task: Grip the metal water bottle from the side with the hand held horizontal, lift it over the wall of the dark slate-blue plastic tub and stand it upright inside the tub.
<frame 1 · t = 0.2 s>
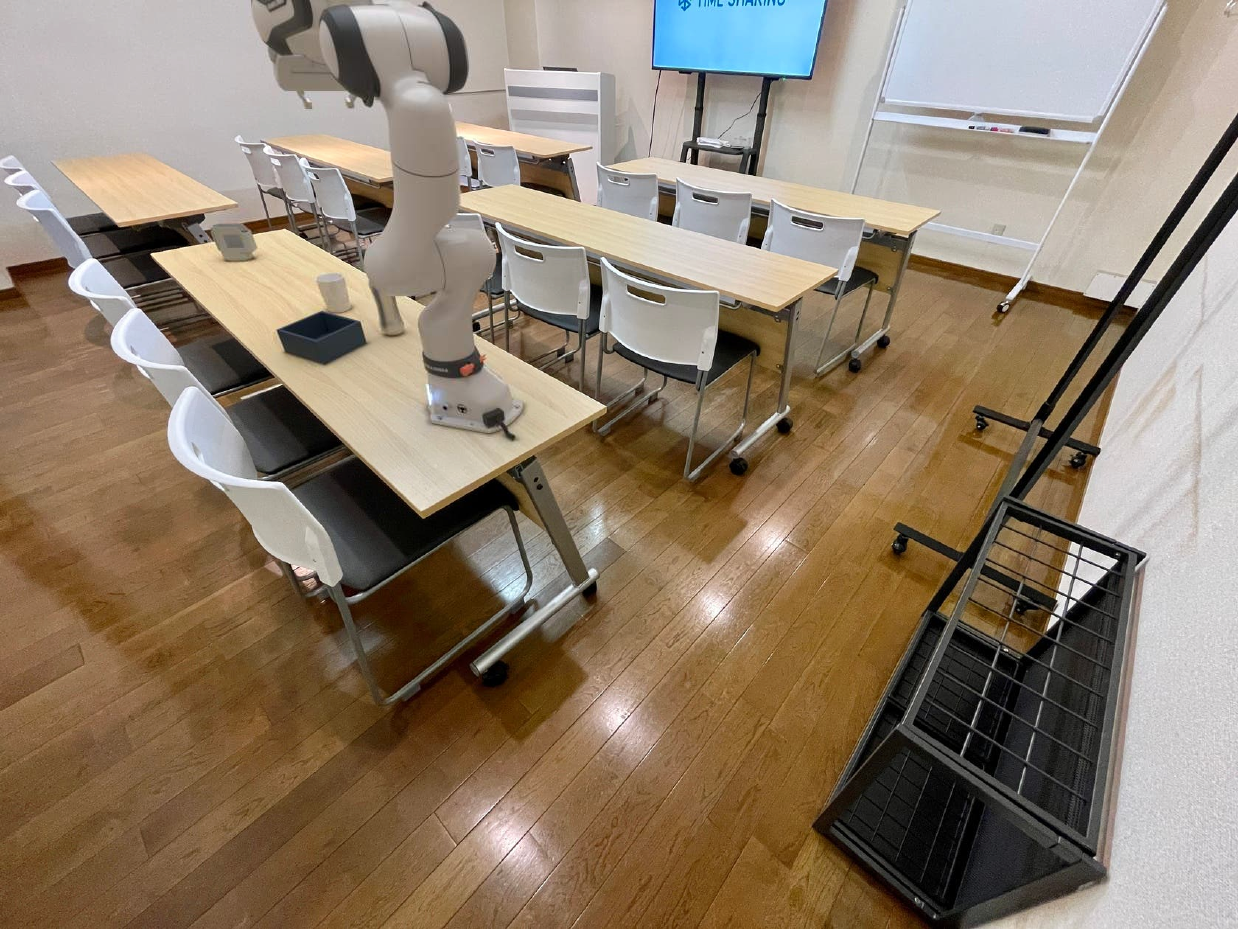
hand: (329, 107, 124), 54 cm above the table, tool tilted 30°, fingers open, 8 cm apart
cable organizer: (243, 259, 195), on the table
white cup: (339, 309, 164), on the table
metal water bottle: (394, 333, 152), on the table
tub: (326, 347, 144), on the table
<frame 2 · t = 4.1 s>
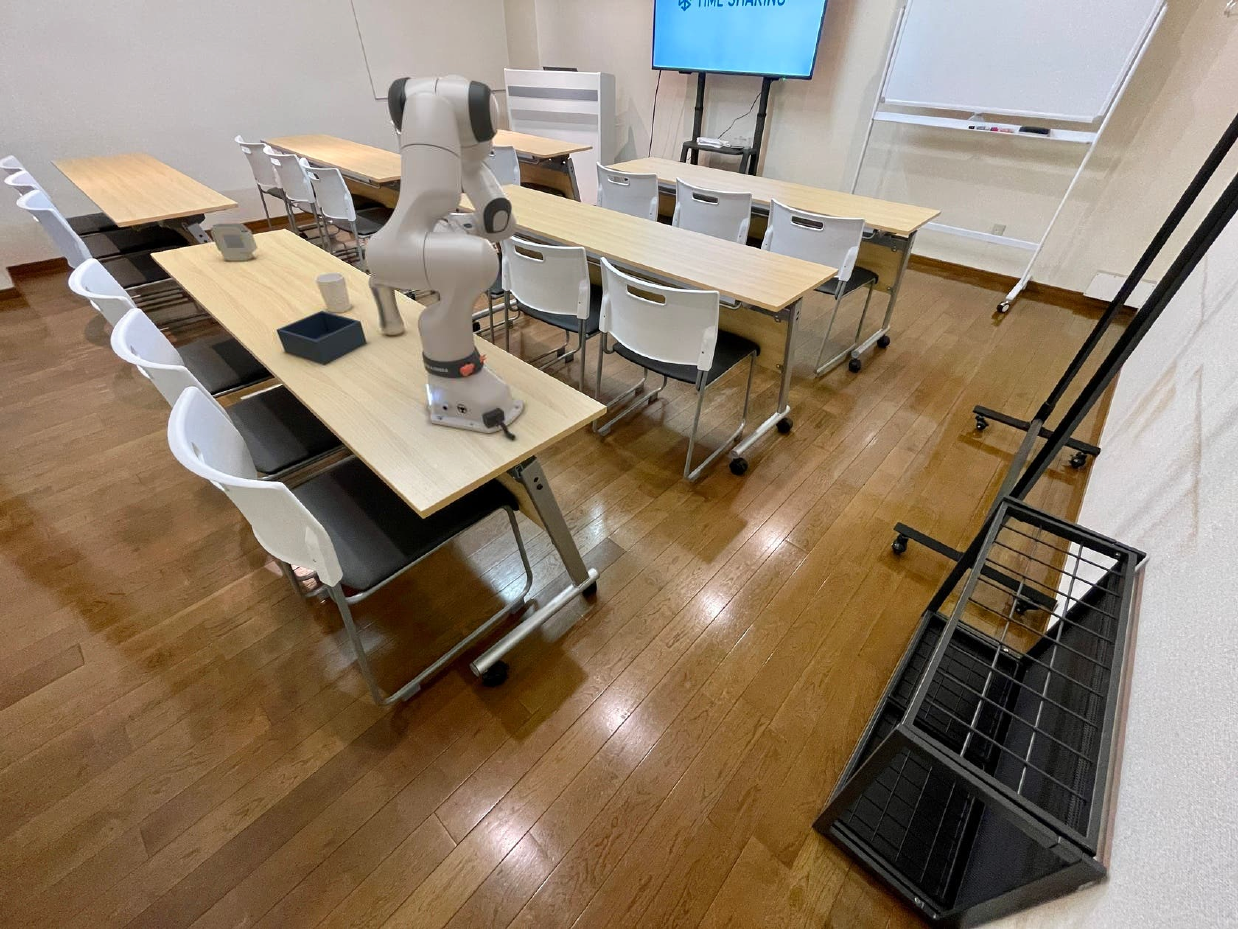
hand: (415, 240, 143), 24 cm above the table, tool horizontal, fingers open, 8 cm apart
nothing on the table moved.
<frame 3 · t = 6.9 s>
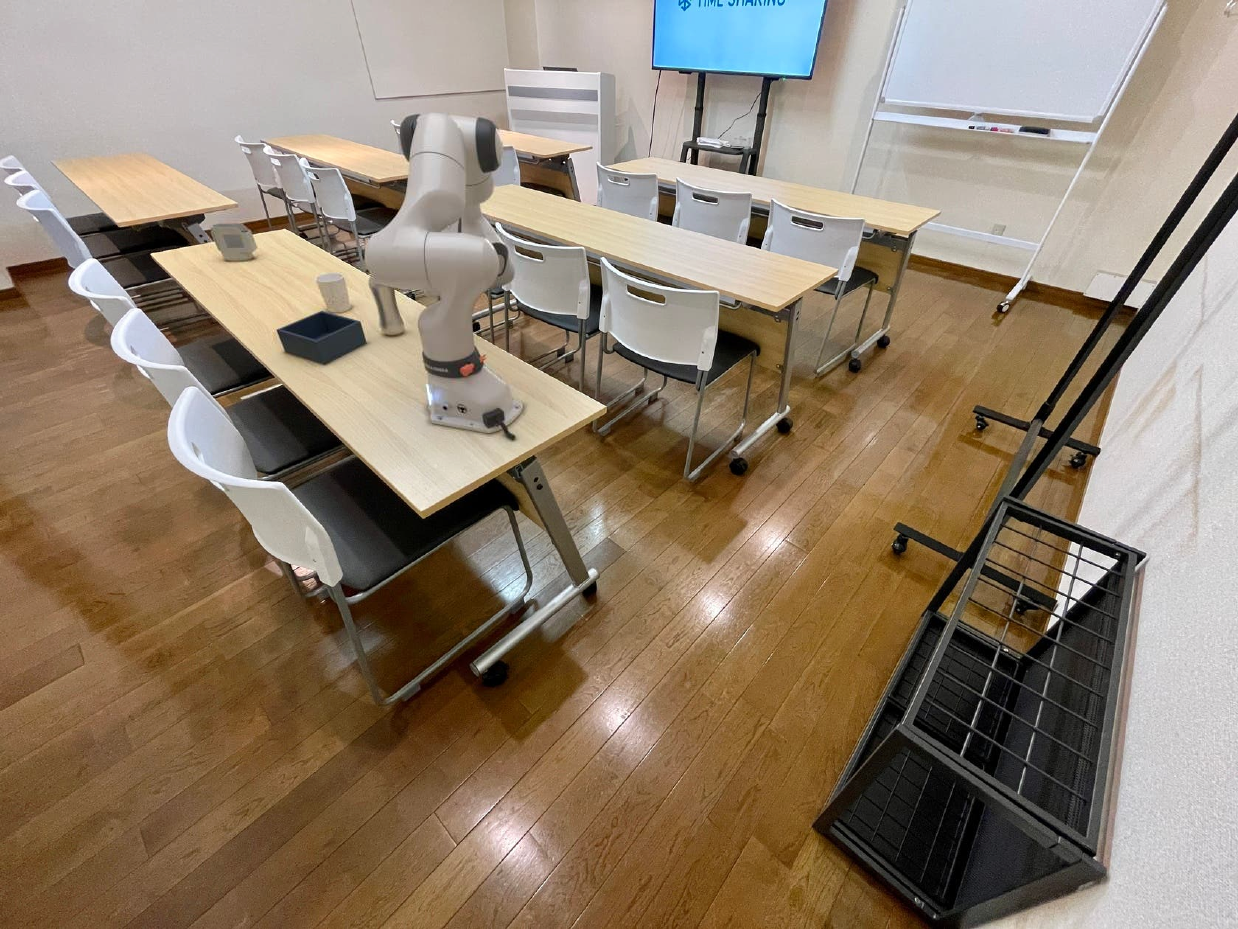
hand: (417, 287, 150), 12 cm above the table, tool horizontal, fingers open, 8 cm apart
nothing on the table moved.
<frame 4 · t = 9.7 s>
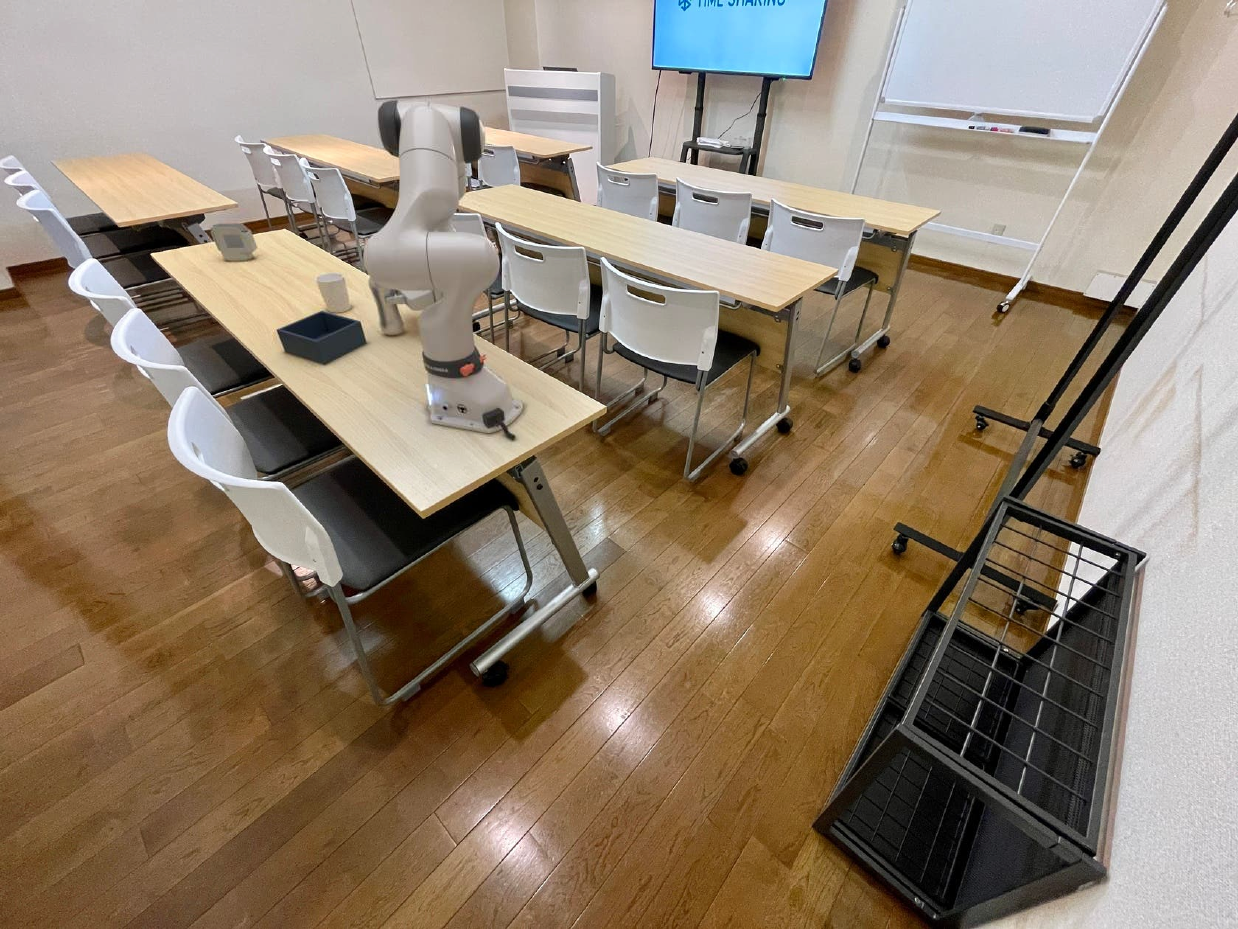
hand: (381, 296, 145), 11 cm above the table, tool horizontal, fingers closed on metal water bottle, 6 cm apart
metal water bottle: (394, 333, 152), on the table, touching gripper
everything else where it was.
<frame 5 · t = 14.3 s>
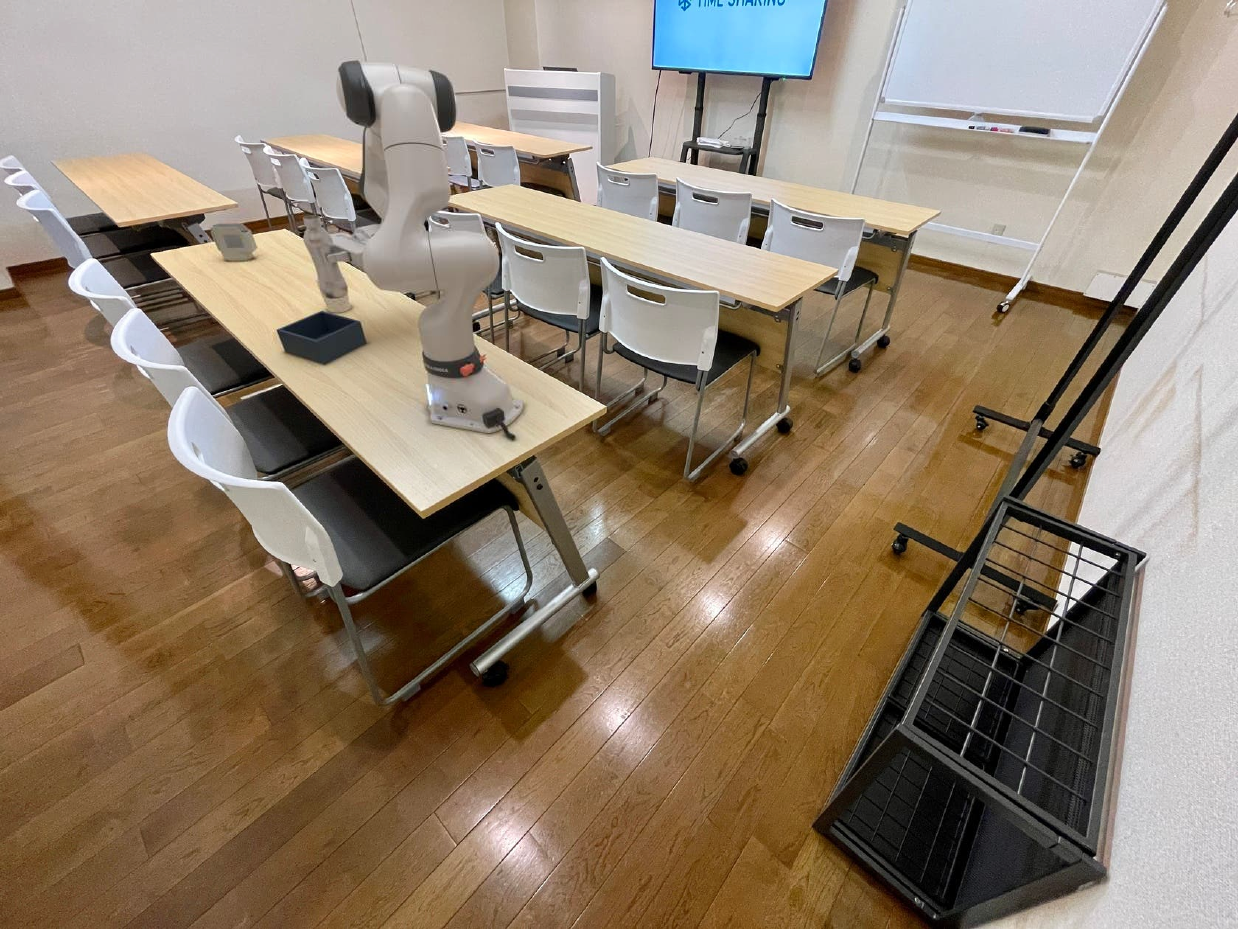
hand: (319, 255, 131), 24 cm above the table, tool horizontal, fingers closed on metal water bottle, 6 cm apart
metal water bottle: (336, 297, 139), point 13 cm above the table, touching gripper
everything else where it was.
when the fingers open (12 cm above the table, at t = 19.4 s): metal water bottle stays where it is, resting on tub.
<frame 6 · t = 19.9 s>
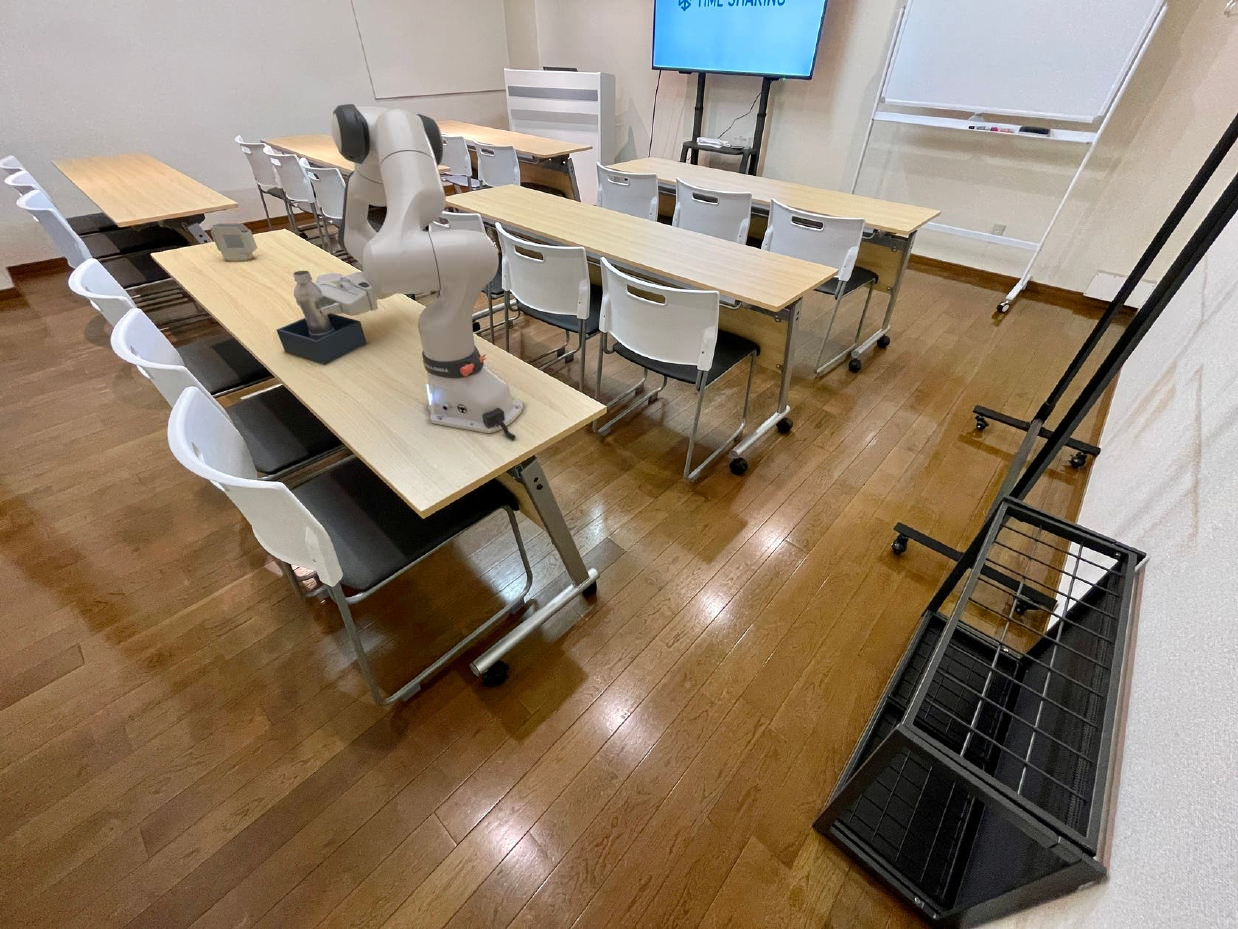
hand: (309, 307, 135), 12 cm above the table, tool horizontal, fingers open, 8 cm apart
metal water bottle: (326, 346, 143), resting on tub
everything else where it was.
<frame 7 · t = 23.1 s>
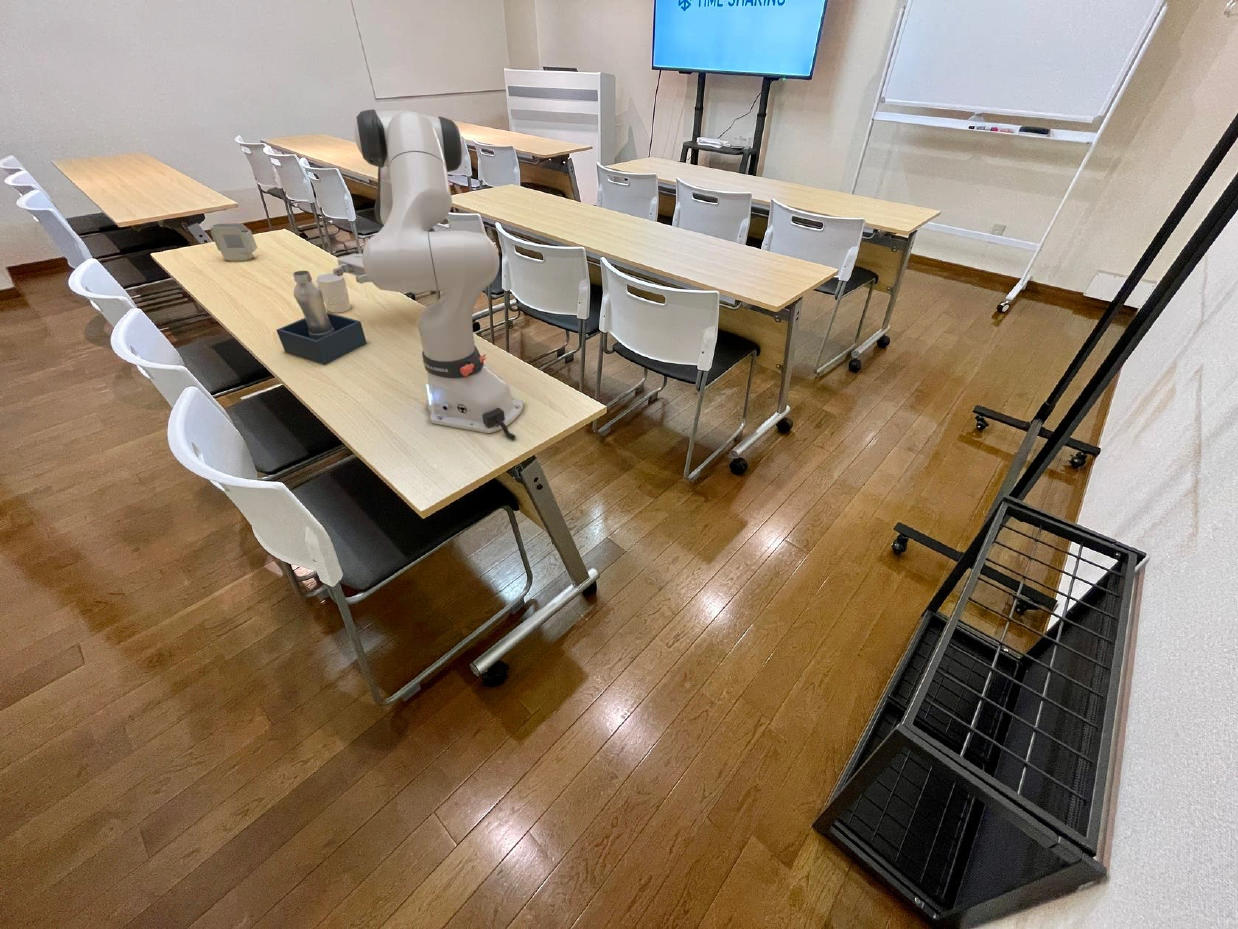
hand: (346, 276, 141), 16 cm above the table, tool horizontal, fingers open, 8 cm apart
nothing on the table moved.
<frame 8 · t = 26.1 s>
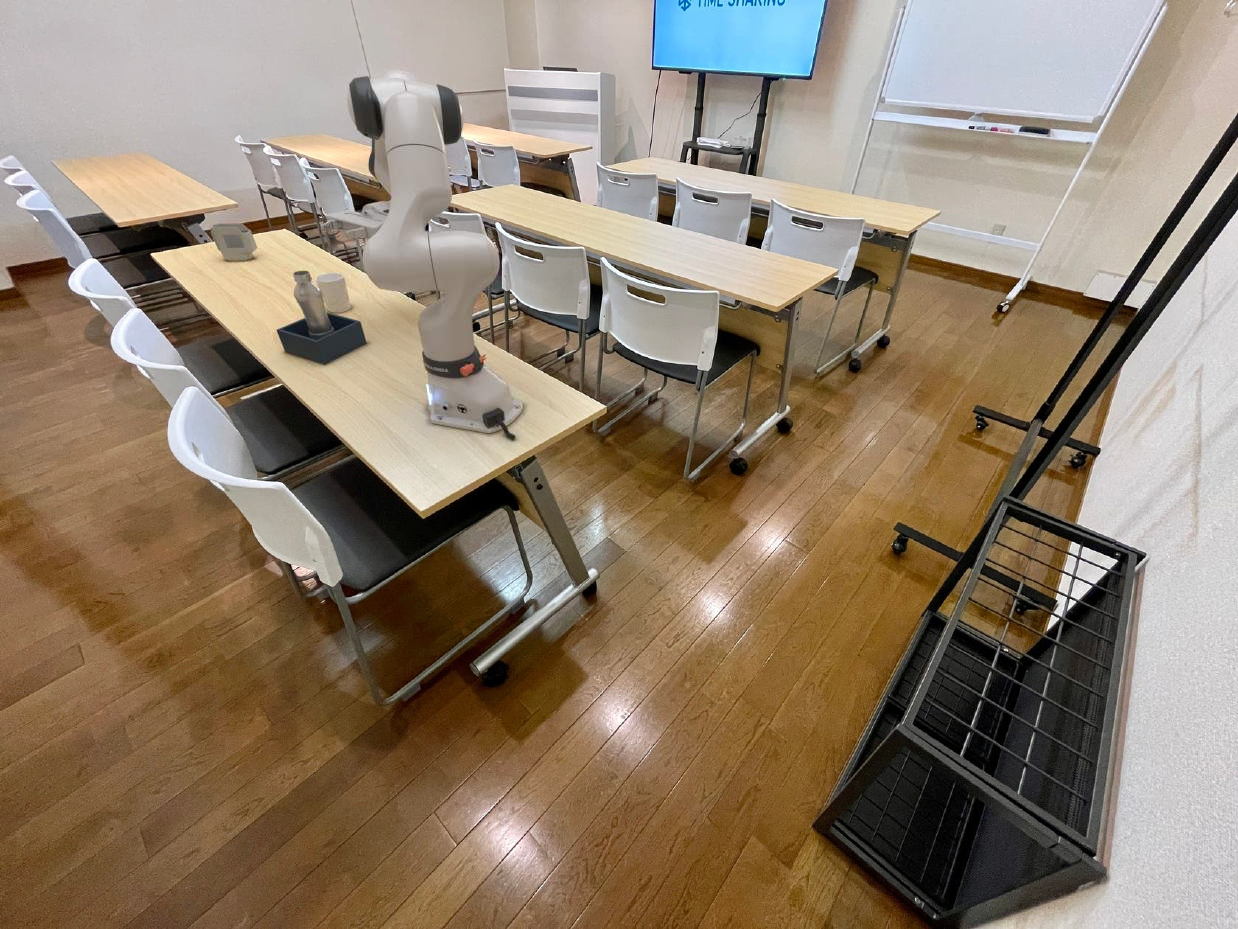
hand: (334, 231, 134), 28 cm above the table, tool horizontal, fingers open, 8 cm apart
nothing on the table moved.
at the end: metal water bottle inside the target area in the tub (0.1 cm from its centre), point 0.4 cm above the tub's base; metal water bottle tilted 0°; the gripper is holding nothing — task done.
